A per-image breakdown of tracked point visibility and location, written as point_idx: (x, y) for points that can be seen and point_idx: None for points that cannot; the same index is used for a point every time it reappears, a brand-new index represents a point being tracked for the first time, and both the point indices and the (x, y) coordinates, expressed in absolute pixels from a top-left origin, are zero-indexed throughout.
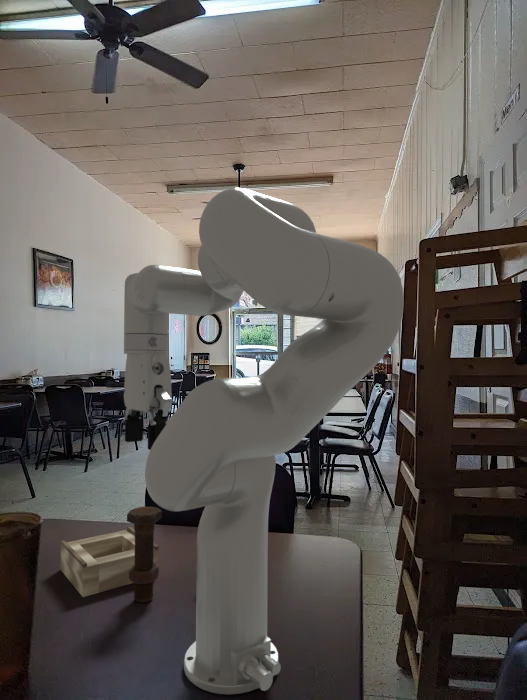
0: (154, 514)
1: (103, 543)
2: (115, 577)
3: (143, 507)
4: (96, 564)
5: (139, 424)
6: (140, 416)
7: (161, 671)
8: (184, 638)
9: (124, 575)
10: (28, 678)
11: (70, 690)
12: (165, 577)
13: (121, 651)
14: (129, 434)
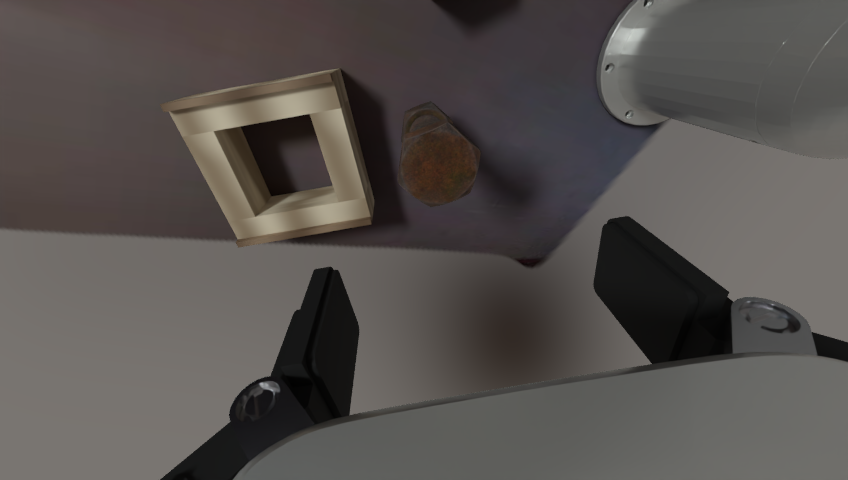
0: (476, 152)
1: (237, 170)
2: (360, 159)
3: (408, 165)
4: (366, 202)
5: (328, 349)
6: (289, 390)
7: (603, 145)
8: (562, 95)
9: (356, 143)
10: (523, 259)
11: (566, 230)
12: (351, 55)
13: (537, 177)
14: (351, 345)
